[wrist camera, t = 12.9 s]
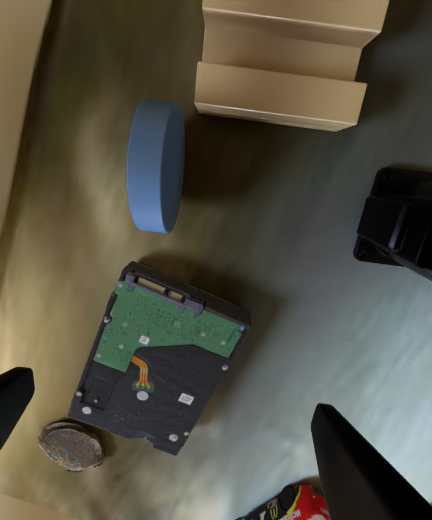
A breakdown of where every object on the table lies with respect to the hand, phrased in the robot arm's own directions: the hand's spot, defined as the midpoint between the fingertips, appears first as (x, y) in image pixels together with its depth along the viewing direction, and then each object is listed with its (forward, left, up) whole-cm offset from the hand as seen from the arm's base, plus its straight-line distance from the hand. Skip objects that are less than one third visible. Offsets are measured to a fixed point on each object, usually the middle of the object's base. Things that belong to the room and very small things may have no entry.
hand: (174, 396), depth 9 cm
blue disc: (+3, -6, -13) cm, 15 cm away
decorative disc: (+11, +21, -13) cm, 27 cm away
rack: (-3, -15, -13) cm, 20 cm away
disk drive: (+3, +9, -13) cm, 16 cm away
